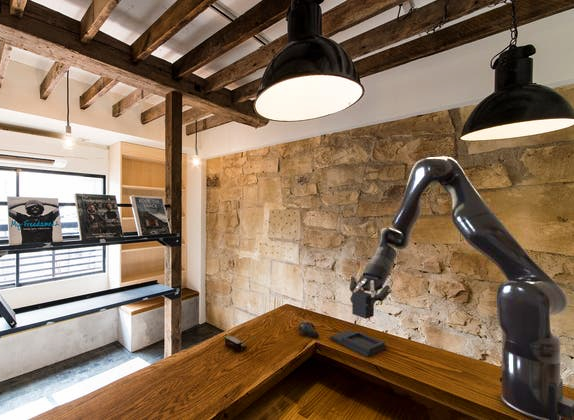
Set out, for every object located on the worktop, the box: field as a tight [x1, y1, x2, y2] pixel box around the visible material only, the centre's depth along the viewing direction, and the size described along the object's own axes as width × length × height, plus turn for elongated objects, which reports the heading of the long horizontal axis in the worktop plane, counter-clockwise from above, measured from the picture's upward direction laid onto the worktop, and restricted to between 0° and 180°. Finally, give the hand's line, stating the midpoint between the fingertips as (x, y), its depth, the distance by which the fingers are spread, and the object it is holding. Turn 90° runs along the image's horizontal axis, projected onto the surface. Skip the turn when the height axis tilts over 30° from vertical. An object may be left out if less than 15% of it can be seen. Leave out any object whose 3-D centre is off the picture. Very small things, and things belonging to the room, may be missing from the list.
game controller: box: [298, 321, 320, 339], centre depth 108 cm, size 10×5×6 cm
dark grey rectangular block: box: [351, 291, 375, 319], centre depth 97 cm, size 5×5×8 cm
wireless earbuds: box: [224, 334, 248, 353], centre depth 95 cm, size 5×7×3 cm, turn 41°
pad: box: [330, 329, 387, 358], centre depth 99 cm, size 14×12×2 cm
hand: (360, 304), depth 96 cm, fingers closed on dark grey rectangular block, 5 cm apart
